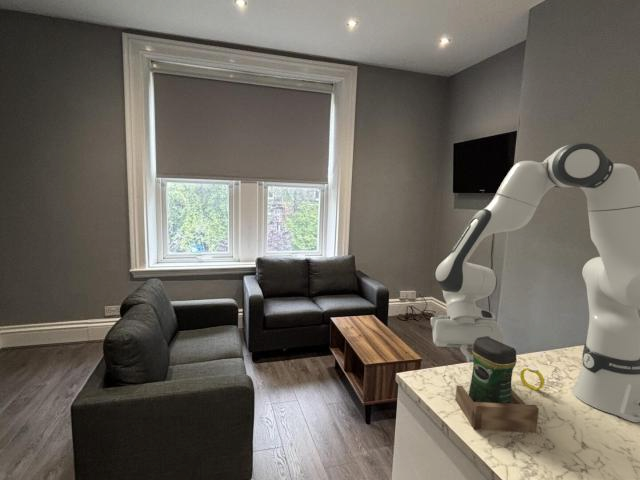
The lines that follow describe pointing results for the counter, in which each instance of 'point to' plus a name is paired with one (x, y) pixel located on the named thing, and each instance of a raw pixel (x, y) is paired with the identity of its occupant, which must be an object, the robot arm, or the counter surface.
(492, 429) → the wooden frame
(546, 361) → the counter surface
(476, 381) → the coffee jar
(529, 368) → the watch
